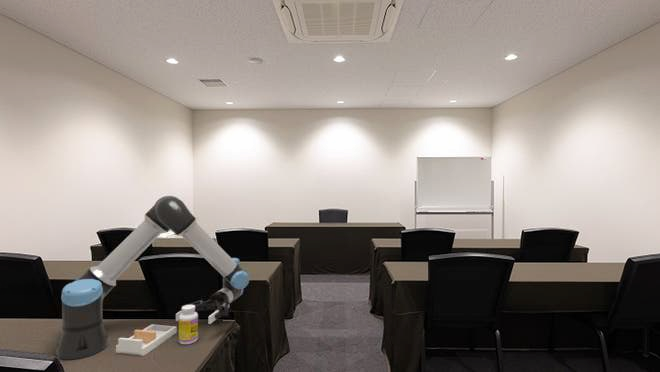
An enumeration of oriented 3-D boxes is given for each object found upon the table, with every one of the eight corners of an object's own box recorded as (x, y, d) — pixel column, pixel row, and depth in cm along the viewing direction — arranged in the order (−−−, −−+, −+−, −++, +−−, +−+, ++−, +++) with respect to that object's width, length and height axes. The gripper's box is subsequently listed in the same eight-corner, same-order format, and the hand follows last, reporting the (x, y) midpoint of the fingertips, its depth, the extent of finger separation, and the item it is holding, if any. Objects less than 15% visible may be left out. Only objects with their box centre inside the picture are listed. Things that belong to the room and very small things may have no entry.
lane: (115, 352, 121) (115, 338, 121) (152, 330, 139) (152, 318, 139) (143, 355, 119) (143, 341, 119) (176, 332, 136) (176, 320, 136)
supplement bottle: (191, 346, 126) (190, 310, 126) (175, 344, 127) (174, 309, 127) (201, 337, 133) (201, 304, 132) (186, 336, 134) (185, 303, 134)
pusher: (134, 341, 128) (134, 330, 128) (136, 340, 129) (136, 329, 129) (154, 343, 126) (154, 332, 126) (156, 342, 127) (156, 331, 127)
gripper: (247, 310, 150) (223, 331, 129) (195, 306, 155) (163, 325, 134) (247, 292, 150) (223, 311, 129) (195, 289, 155) (163, 306, 134)
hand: (192, 318), depth 131 cm, fingers open, 13 cm apart
